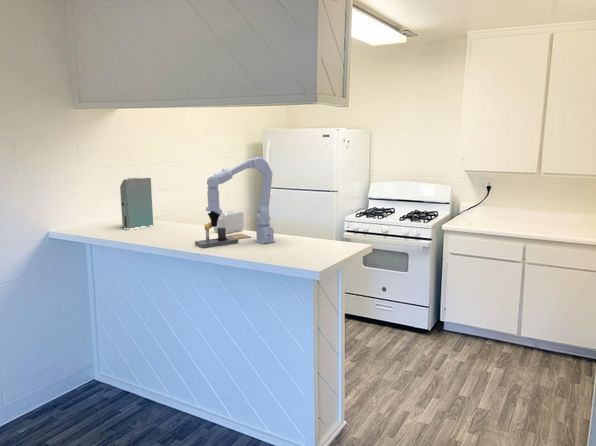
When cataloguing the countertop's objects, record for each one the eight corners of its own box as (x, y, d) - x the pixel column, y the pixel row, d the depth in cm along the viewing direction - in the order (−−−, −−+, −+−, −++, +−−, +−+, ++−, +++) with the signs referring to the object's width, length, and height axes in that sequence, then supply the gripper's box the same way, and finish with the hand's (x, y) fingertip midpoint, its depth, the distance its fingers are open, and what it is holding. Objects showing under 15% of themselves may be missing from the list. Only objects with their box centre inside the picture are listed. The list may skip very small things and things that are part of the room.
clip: (208, 229, 245) (208, 225, 245) (203, 229, 246) (203, 225, 245) (217, 224, 258) (217, 221, 258) (212, 224, 258) (212, 221, 258)
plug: (227, 243, 252) (226, 228, 251) (220, 244, 250) (219, 229, 248) (223, 242, 255) (223, 227, 254) (216, 243, 253) (216, 228, 252)
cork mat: (250, 237, 267) (250, 236, 267) (232, 240, 261) (232, 238, 261) (241, 234, 276) (241, 233, 276) (223, 236, 270) (223, 235, 270)
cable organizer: (225, 234, 276) (225, 214, 274) (212, 232, 283) (212, 212, 281) (244, 230, 288) (243, 211, 286) (231, 228, 294) (230, 209, 292)
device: (146, 225, 308) (143, 177, 303) (153, 226, 303) (151, 177, 298) (122, 228, 295) (119, 178, 290) (129, 230, 290) (126, 179, 285)
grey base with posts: (238, 243, 253) (237, 227, 251) (202, 248, 242) (201, 231, 240) (230, 240, 260) (229, 225, 259) (195, 245, 249) (194, 229, 247)
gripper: (200, 199, 252) (201, 225, 254) (212, 201, 241) (213, 229, 243) (212, 198, 256) (213, 224, 258) (225, 200, 245) (226, 227, 247)
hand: (214, 226), depth 251 cm, fingers closed, pressing on clip
